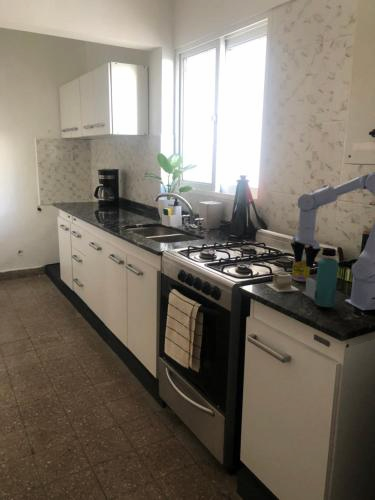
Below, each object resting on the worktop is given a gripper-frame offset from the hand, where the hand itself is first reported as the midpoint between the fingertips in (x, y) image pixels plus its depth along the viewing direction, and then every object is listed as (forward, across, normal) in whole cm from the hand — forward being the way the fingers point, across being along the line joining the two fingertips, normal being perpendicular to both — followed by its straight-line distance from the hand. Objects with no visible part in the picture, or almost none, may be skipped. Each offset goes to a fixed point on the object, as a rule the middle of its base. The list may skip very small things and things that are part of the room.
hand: (303, 263), depth 155 cm
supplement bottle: (+10, -12, +7) cm, 17 cm away
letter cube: (+9, -3, -7) cm, 12 cm away
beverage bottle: (+10, +20, -4) cm, 23 cm away
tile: (+10, -3, -6) cm, 12 cm away
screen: (+10, +9, -1) cm, 13 cm away
